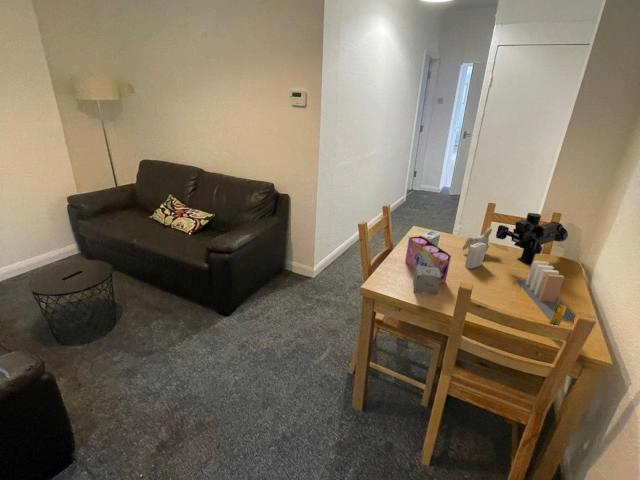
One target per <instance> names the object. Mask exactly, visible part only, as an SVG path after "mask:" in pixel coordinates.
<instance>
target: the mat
mask: <svg viewBox="0 0 640 480" xmlns="http://www.w3.org/2000/svg"><path fill="white" fill-rule="evenodd" d="M526 280H527V279H515V281H516V282H517V284H519V286H520V287H521V288H522V289H523V291H524V292H525V293H526V294H527V295H528V296H529V298H530V299H531V300H532V302H534V304H535V305H536V306H537V307H538V308H539V310H540V311H541V312H542V313H543V314H544V315H545V316H546V318H547V320H549V321H551V318H552V316H553V313H554V311H555V309H556V307H557V304H560V305H563V306H566V305H565V303H563V301H561V300H560V299H559V297H557V298H556V300H555V302H549V301H540V300H539V299H538V298H539V296H536V295H535V294H534V291H532V290H530V289H529V288H530V286H527V285H526V284H525V283H526ZM559 300H560V301H559ZM558 302H559V303H558ZM575 316H576V315H575V314H574V313H573V312H572V310H570V309H569V308H568V307H567V308H566V311H565V313H564V316H563V318H562V320H561V322H571V323H575V322H574V318H575Z"/></svg>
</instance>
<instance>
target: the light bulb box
mask: <svg viewBox="0 0 640 480" xmlns="http://www.w3.org/2000/svg"><path fill="white" fill-rule="evenodd" d="M419 236H423V237H424V238H425V239H427V240H428V241H430V242H431V243H433V244H434V245H436V246H437V247H439V241H440V237H441V234H440V233H437V232H435V231H431V230H428V231H426V232H424V233H422V234H419Z"/></svg>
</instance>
